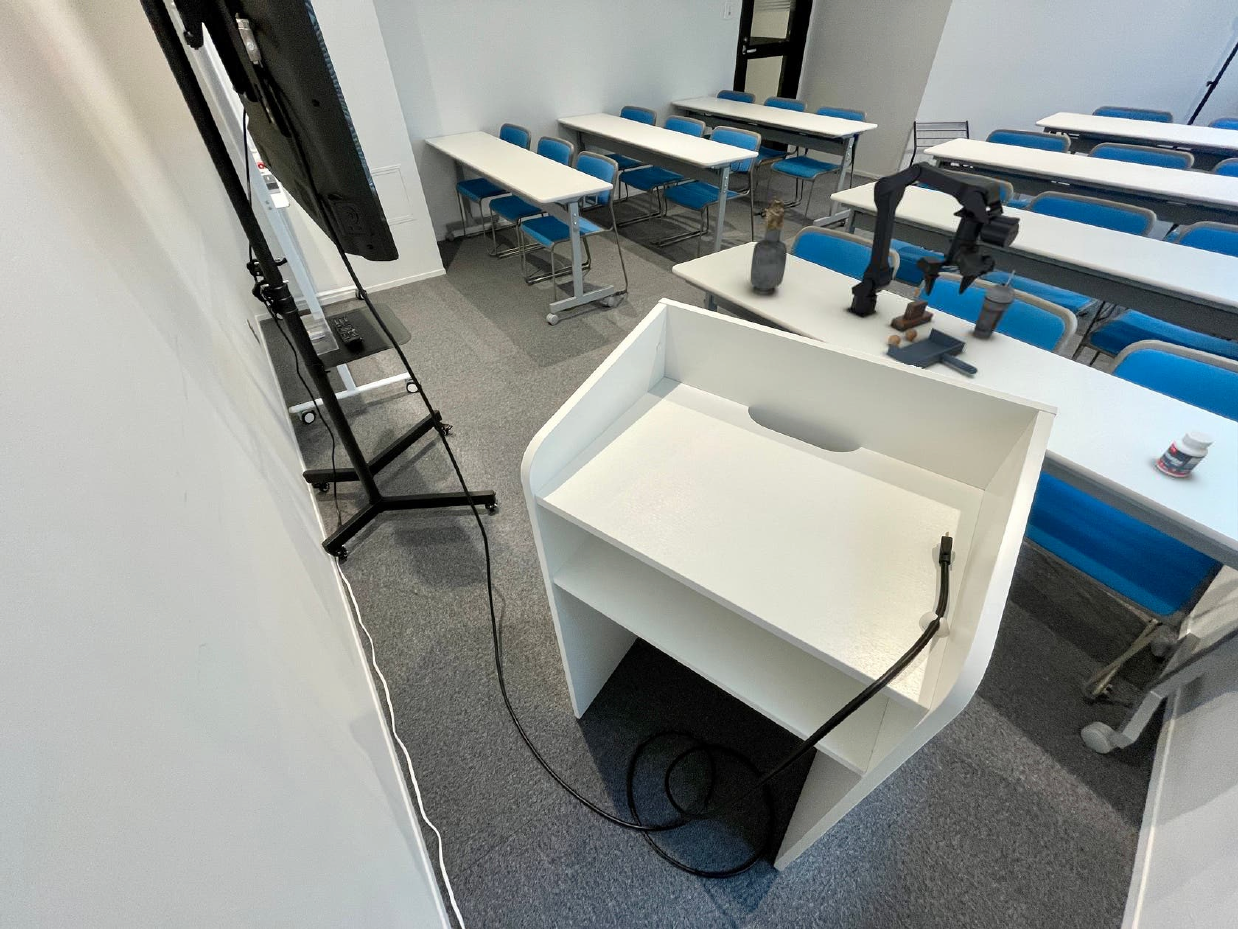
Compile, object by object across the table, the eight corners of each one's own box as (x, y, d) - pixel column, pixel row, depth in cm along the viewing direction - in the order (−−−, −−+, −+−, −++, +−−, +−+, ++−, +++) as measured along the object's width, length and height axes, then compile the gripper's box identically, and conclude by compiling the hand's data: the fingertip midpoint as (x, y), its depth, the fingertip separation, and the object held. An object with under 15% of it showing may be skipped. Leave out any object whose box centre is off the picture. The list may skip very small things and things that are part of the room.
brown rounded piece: (901, 338, 157) (904, 328, 155) (908, 335, 158) (912, 325, 156) (910, 342, 155) (913, 332, 153) (917, 340, 156) (921, 330, 154)
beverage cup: (989, 329, 159) (1020, 263, 146) (999, 341, 153) (1033, 273, 140) (963, 329, 160) (992, 263, 146) (973, 341, 154) (1004, 273, 141)
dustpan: (886, 354, 150) (890, 343, 148) (929, 337, 156) (933, 327, 154) (951, 387, 137) (956, 377, 134) (995, 368, 143) (1000, 358, 141)
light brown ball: (884, 344, 154) (887, 334, 152) (892, 341, 156) (895, 331, 153) (893, 349, 152) (896, 339, 150) (901, 346, 153) (904, 336, 151)
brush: (889, 326, 163) (897, 304, 158) (918, 315, 167) (926, 294, 163) (901, 331, 160) (909, 309, 155) (930, 321, 164) (938, 299, 160)
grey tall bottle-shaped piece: (748, 298, 181) (760, 204, 161) (748, 277, 195) (760, 188, 175) (780, 300, 179) (797, 205, 159) (778, 278, 193) (794, 188, 173)
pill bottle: (1148, 462, 113) (1176, 429, 107) (1172, 460, 113) (1200, 427, 107) (1170, 478, 109) (1200, 445, 103) (1194, 476, 109) (1225, 443, 103)
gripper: (947, 249, 131) (924, 308, 141) (1020, 246, 131) (993, 305, 142) (925, 234, 139) (905, 291, 150) (995, 231, 140) (970, 288, 150)
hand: (943, 294), depth 147 cm, fingers open, 9 cm apart
